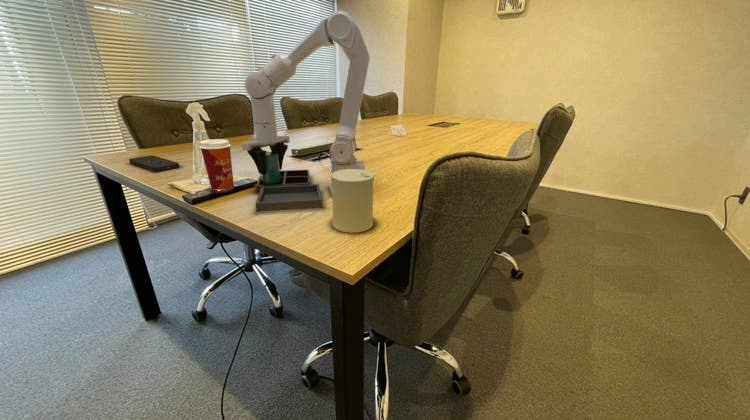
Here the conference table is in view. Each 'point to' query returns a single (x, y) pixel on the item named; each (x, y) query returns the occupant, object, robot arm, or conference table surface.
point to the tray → (289, 197)
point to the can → (352, 200)
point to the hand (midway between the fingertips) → (270, 171)
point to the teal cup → (271, 168)
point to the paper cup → (218, 163)
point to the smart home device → (154, 163)
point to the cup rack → (288, 179)
